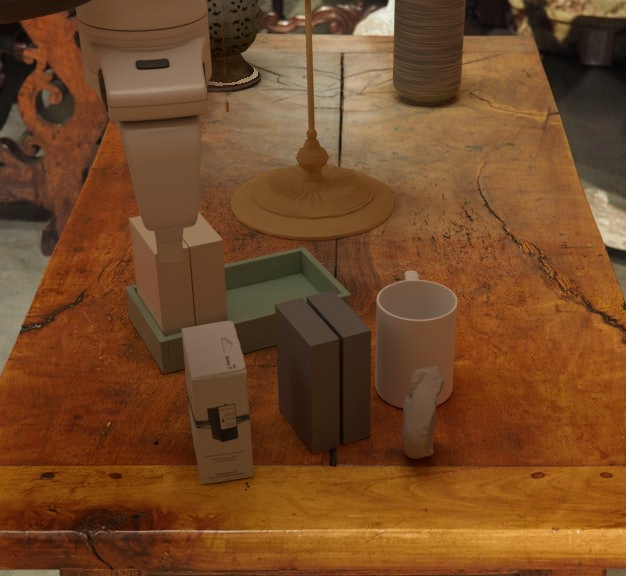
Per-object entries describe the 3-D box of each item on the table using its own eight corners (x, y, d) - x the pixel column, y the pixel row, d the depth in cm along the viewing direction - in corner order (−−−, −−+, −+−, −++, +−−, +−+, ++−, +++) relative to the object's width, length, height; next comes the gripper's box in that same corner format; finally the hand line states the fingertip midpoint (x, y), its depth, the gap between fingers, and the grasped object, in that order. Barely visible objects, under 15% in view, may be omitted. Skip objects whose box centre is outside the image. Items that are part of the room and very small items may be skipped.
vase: (409, 113, 177) (414, -28, 165) (381, 90, 186) (383, -45, 174) (472, 104, 181) (480, -34, 169) (441, 82, 190) (447, -50, 179)
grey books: (312, 454, 99) (310, 346, 93) (278, 408, 106) (274, 304, 100) (370, 436, 102) (371, 329, 96) (333, 392, 108) (333, 289, 102)
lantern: (174, 90, 184) (161, -59, 172) (190, 64, 196) (179, -77, 184) (255, 93, 184) (249, -57, 171) (266, 66, 196) (261, -75, 184)
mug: (457, 410, 106) (462, 319, 100) (377, 412, 105) (378, 321, 100) (444, 343, 116) (448, 258, 111) (371, 345, 116) (372, 259, 111)
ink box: (188, 429, 102) (179, 323, 96) (240, 421, 104) (234, 316, 98) (200, 487, 95) (190, 377, 89) (255, 478, 96) (249, 369, 90)
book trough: (163, 374, 110) (160, 342, 108) (128, 317, 120) (124, 286, 118) (351, 325, 119) (351, 294, 117) (304, 275, 129) (304, 246, 127)
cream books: (165, 356, 111) (154, 254, 105) (139, 315, 118) (128, 217, 112) (229, 339, 114) (223, 239, 108) (201, 301, 121) (193, 205, 115)
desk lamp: (192, 246, 135) (165, -85, 115) (203, 171, 155) (182, -121, 135) (436, 240, 137) (451, -85, 117) (416, 167, 157) (426, -121, 137)
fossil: (431, 482, 96) (436, 391, 91) (393, 475, 97) (396, 385, 92) (443, 443, 101) (448, 354, 96) (407, 437, 102) (410, 349, 97)
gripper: (94, 16, 83) (114, 179, 90) (108, 107, 66) (131, 300, 73) (176, 11, 85) (190, 172, 91) (210, 99, 67) (224, 289, 74)
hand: (164, 230), depth 82 cm, fingers open, 8 cm apart
